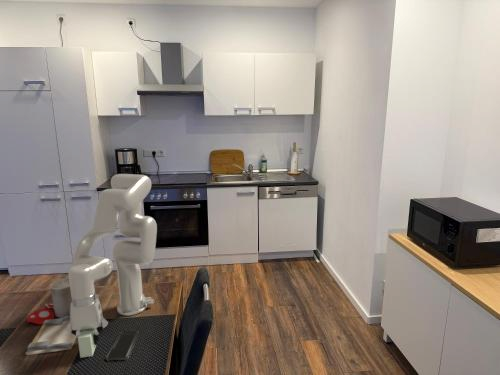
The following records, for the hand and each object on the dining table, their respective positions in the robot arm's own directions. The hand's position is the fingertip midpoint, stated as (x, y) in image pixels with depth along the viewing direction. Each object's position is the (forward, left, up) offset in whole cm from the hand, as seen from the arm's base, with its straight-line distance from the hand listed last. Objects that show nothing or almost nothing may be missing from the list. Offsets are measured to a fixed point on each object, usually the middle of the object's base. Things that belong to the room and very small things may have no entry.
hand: (89, 343), depth 124 cm
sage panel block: (0, 0, -2) cm, 2 cm away
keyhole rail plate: (+14, -10, -2) cm, 17 cm away
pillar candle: (+16, -27, -2) cm, 31 cm away
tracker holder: (+24, -25, -2) cm, 34 cm away
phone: (-12, +2, -2) cm, 12 cm away
